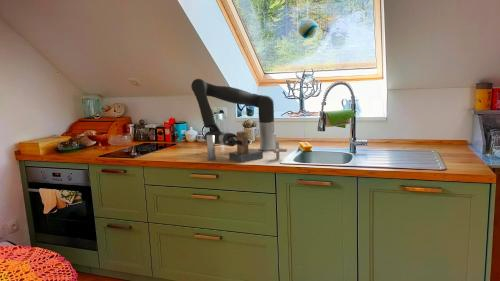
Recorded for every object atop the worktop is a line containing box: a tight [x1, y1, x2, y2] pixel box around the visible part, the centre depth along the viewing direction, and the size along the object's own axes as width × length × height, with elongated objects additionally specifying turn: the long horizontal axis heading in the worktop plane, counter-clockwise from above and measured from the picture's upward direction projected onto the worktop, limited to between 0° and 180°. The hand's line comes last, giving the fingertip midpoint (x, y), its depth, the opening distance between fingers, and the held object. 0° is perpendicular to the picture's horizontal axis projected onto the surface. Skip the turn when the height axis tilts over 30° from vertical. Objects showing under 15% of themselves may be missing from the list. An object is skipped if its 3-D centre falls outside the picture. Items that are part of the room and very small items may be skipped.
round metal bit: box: [206, 135, 217, 162], centre depth 213 cm, size 4×4×14 cm
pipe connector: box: [268, 140, 288, 160], centre depth 209 cm, size 10×10×10 cm
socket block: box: [228, 148, 264, 163], centre depth 213 cm, size 15×11×4 cm
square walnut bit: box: [236, 130, 249, 154], centre depth 211 cm, size 4×4×14 cm
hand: (245, 142), depth 208 cm, fingers closed on square walnut bit, 4 cm apart
